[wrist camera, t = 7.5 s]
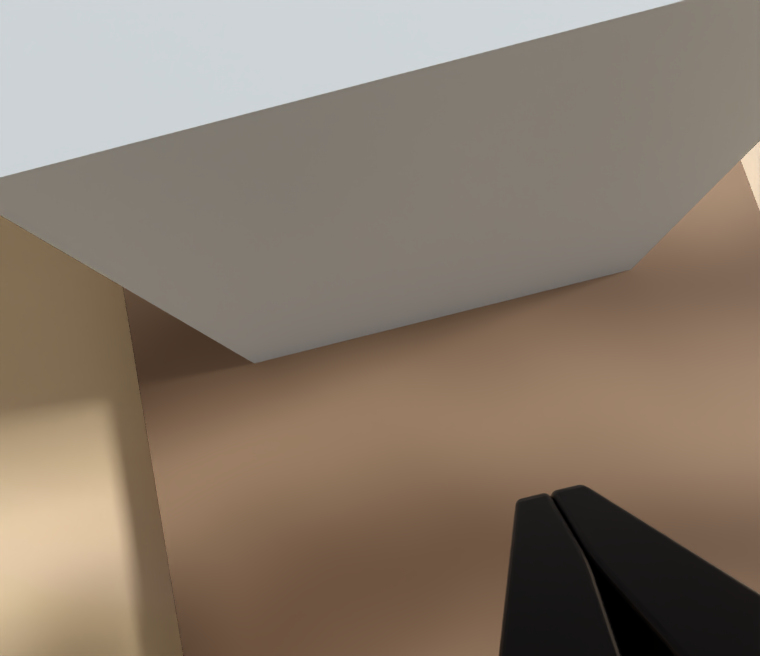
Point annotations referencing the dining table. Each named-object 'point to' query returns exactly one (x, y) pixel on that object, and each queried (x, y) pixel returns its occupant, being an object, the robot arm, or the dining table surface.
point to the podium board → (454, 448)
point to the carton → (365, 149)
